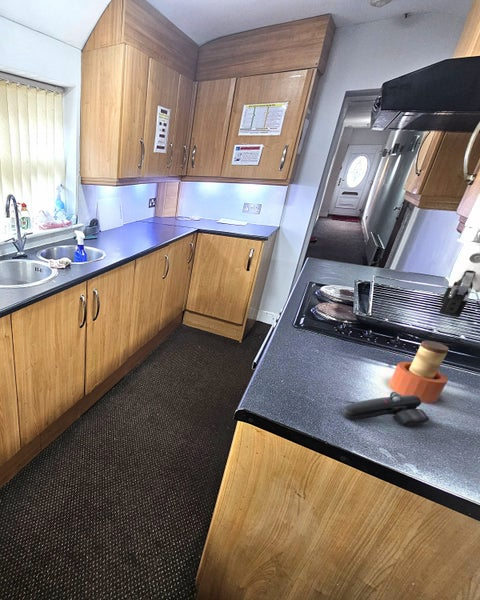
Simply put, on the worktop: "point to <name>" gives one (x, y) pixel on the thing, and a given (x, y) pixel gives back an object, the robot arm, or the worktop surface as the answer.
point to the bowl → (417, 383)
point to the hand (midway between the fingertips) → (449, 309)
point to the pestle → (428, 359)
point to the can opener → (389, 409)
